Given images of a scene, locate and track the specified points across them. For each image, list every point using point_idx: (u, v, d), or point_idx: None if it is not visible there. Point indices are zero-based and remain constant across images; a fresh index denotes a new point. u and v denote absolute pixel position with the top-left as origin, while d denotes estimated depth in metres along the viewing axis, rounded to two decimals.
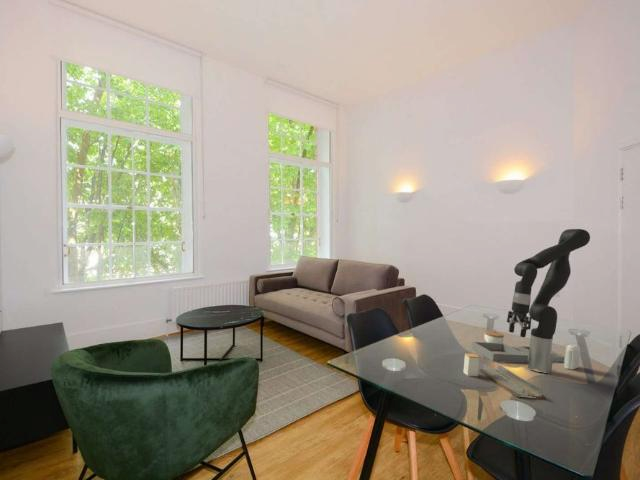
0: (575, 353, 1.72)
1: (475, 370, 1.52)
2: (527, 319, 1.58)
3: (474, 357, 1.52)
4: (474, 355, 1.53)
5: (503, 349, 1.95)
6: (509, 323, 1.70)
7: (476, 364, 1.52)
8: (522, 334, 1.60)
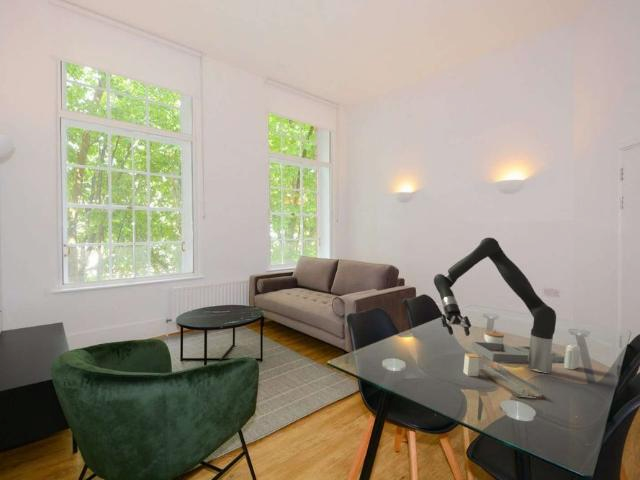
0: (575, 353, 1.72)
1: (475, 370, 1.52)
2: (441, 318, 1.71)
3: (474, 357, 1.52)
4: (474, 355, 1.53)
5: (503, 349, 1.95)
6: None
7: (476, 364, 1.52)
8: None
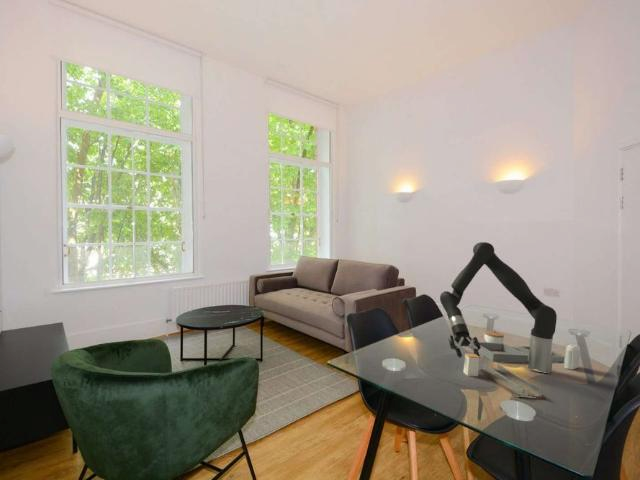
0: (575, 353, 1.72)
1: (475, 370, 1.52)
2: (449, 339, 1.62)
3: (474, 357, 1.52)
4: (474, 355, 1.53)
5: (503, 349, 1.95)
6: None
7: (476, 364, 1.52)
8: None
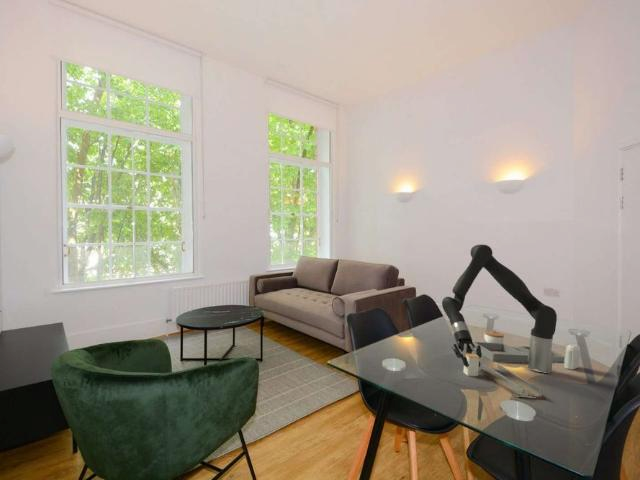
0: (575, 353, 1.72)
1: (475, 370, 1.52)
2: (453, 348, 1.58)
3: (474, 357, 1.52)
4: (474, 355, 1.53)
5: (503, 349, 1.95)
6: None
7: (476, 364, 1.52)
8: None
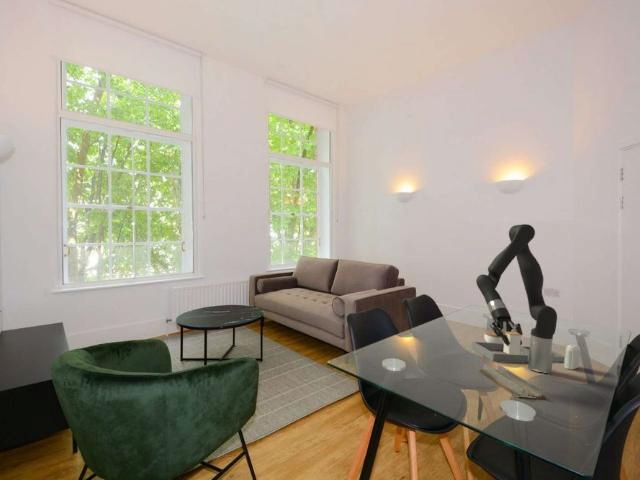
0: (575, 353, 1.72)
1: (517, 348, 1.44)
2: (491, 326, 1.51)
3: (515, 335, 1.44)
4: (515, 333, 1.46)
5: (503, 349, 1.95)
6: None
7: (517, 342, 1.44)
8: None
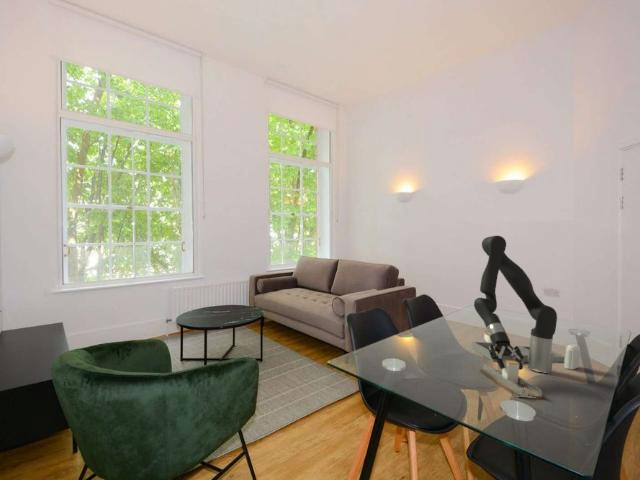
0: (575, 353, 1.72)
1: (515, 377, 1.44)
2: (489, 349, 1.51)
3: (514, 364, 1.44)
4: (513, 361, 1.46)
5: None
6: (516, 361, 1.49)
7: (516, 371, 1.44)
8: None
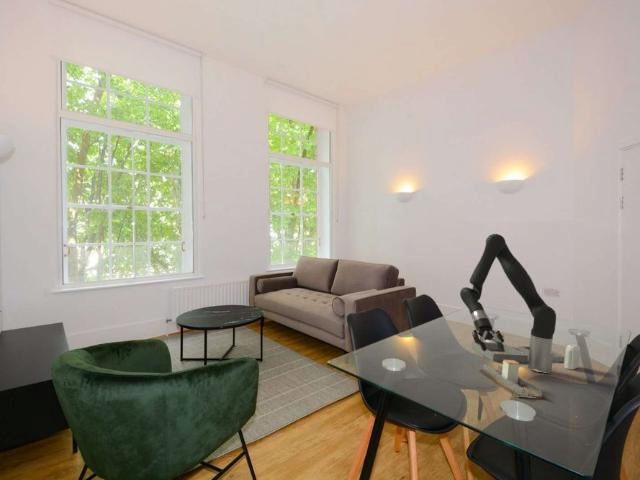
0: (575, 353, 1.72)
1: (515, 377, 1.44)
2: (472, 333, 1.65)
3: (514, 364, 1.44)
4: (513, 361, 1.46)
5: (503, 349, 1.95)
6: (497, 344, 1.63)
7: (516, 371, 1.44)
8: None
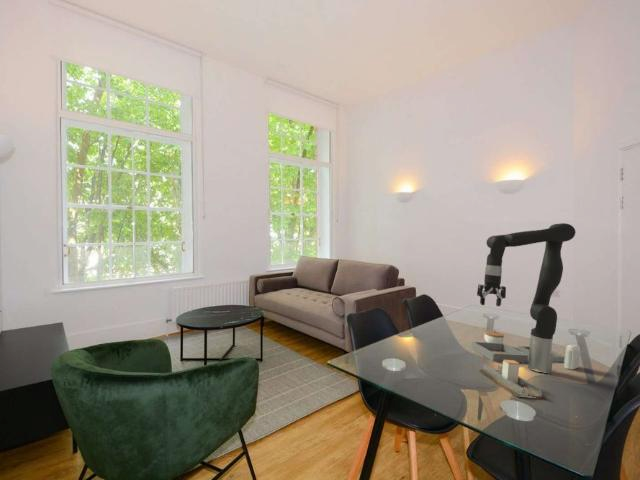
0: (575, 353, 1.72)
1: (515, 377, 1.44)
2: (478, 286, 1.70)
3: (514, 364, 1.44)
4: (513, 361, 1.46)
5: (503, 349, 1.95)
6: None
7: (516, 371, 1.44)
8: None
